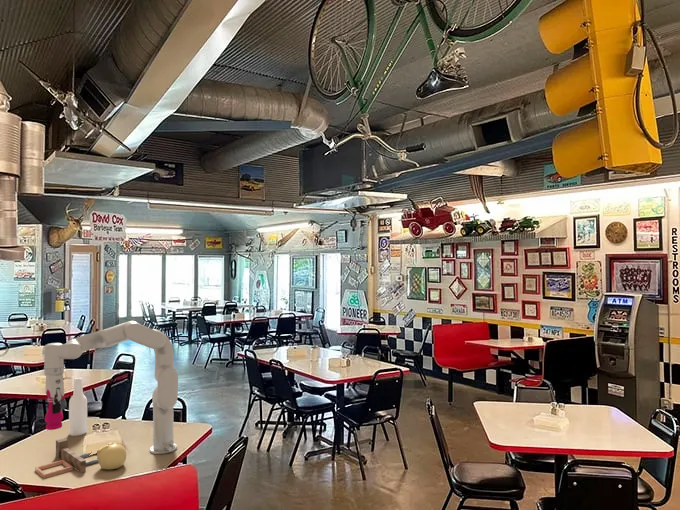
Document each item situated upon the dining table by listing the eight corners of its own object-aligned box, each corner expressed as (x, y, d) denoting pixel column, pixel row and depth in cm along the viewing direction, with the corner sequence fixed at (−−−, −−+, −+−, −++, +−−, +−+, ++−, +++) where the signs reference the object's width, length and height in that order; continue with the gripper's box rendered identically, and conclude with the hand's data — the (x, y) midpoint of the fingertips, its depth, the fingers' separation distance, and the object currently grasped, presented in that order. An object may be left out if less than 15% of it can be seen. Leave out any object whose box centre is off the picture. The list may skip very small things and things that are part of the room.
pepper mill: (42, 431, 219) (42, 385, 220) (47, 426, 226) (47, 381, 226) (60, 429, 221) (60, 384, 221) (65, 424, 228) (64, 380, 228)
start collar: (108, 459, 236) (108, 456, 236) (83, 466, 227) (83, 463, 227) (98, 452, 243) (98, 449, 243) (73, 460, 235) (73, 456, 235)
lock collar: (72, 469, 224) (72, 466, 224) (44, 478, 215) (44, 474, 215) (63, 462, 232) (63, 459, 232) (35, 470, 223) (35, 467, 223)
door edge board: (88, 470, 223) (88, 452, 223) (78, 473, 220) (78, 455, 220) (64, 454, 242) (64, 438, 242) (55, 457, 239) (55, 440, 239)
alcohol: (69, 432, 274) (69, 377, 274) (87, 429, 277) (87, 375, 278) (68, 437, 266) (68, 380, 266) (86, 434, 269) (86, 379, 270)
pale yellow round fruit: (118, 459, 235) (118, 436, 235) (131, 466, 227) (130, 442, 227) (93, 467, 226) (93, 443, 226) (106, 474, 219) (105, 450, 219)
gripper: (70, 372, 221) (70, 413, 221) (56, 367, 232) (56, 406, 232) (51, 375, 215) (51, 417, 215) (38, 369, 227) (38, 409, 227)
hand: (54, 411), depth 224 cm, fingers closed on pepper mill, 5 cm apart
